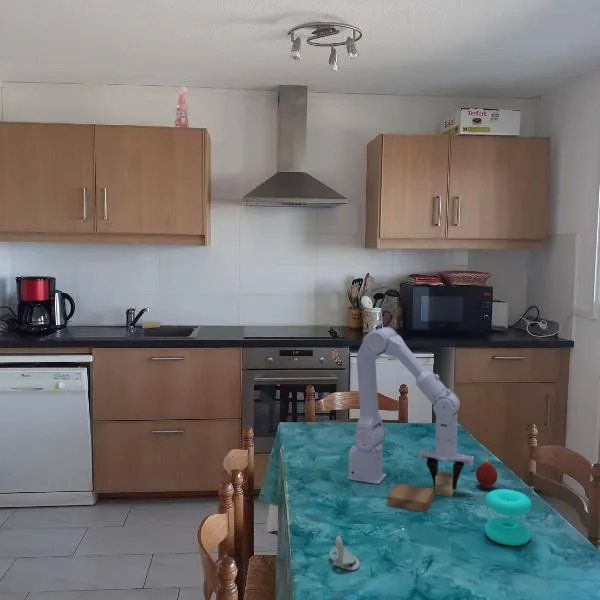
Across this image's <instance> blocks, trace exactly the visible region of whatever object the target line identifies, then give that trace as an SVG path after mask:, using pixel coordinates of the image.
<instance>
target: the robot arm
mask: <svg viewBox="0 0 600 600" xmlns="http://www.w3.org/2000/svg"><path fill="white" fill-rule="evenodd" d="M383 353H384V355H385V356H390V357H393V358H396V359H397V360H399V362H400V363H402V365H403V366H404V367H405V368H406V369H407V370H408V371H409V372H410V374H412V376H414V378H415V379H416V380H415V382H416V383H415V385H416V387H417V388H418V389H419V391H421V392H422V394H423V395H424V396H425V397H426V399H427V400H428V401H429V402H430V403H431V404H432V406H433V407H432V408H433V412H434V414H435V417H436V418H435V419H436V420H435V439H434V440H435V444H434V446H435V447H434V450H433V449H432V450H431V449H419V451H418V459H421V460H422V459H426V462H425V463H426V467H427V468H428V471H429V473H430V475H431V479H432V485H433V487H434V488H435V476H436V475H437V473H438V471H439V461H441V462H442V461H443V462H448V463H450V462H451V463H453V465H452V473H453V489H454V490H455V491H456V489H457V486H458V481H459V478H460V474H461V472H462V470H463V468H464V466H465V465H468V466H474V459H475V457H474V456H473V455H469V454H468V455H467V454H462V453H460V452H459V453H458V448H457V447H458V411H459V409H460V407H461V401H460V399H459V397H458V395H457V394H456V393H454V392H452V390H451V389H450V388H446V386H445V385H444V383H443V382H442V381H441V380H440V376H439V374H438V373H436V374H435V373H434V372H433V371H430V370H426V369H425V367H424V366H423V365H422V363H420V361H419V360H418V358H417V357H416V356H415V355H414V353H413V352H412V351H411V349H410V348H409V347H408V346H407V344H406V343H405V341H404V339H403V338H402V336H401V335H399V334H398V333H397V331H396V330H395V329H394V328H392V327H389V326H384V327H382V328H378V329H374V330H371V331H370V332H368V333H367V334H366V335H364V337H363V338H362V343H361V345H360V346H359V349H358V351H357V353H356V367H357V368H356V370H357V371H356V372H357V383H358V384H357V387H358V400H359V401H358V402H359V418H358V420H357V422H356V431H355V434H354V437H353V439H354V443H355V445H352V446H351V447H350V449H349V452H348V476H347V480H352V481H357V482H361V483H362V482H363V483H369V484H376V485H379V484H381V482H382V481H383V480H384V479H385V478H386V476H387V473H385V472H383V455H384V454H383V451H384V450H383V443H382V442H383V441H384V440H385V438H386V436H387V435H386V434H387V431H386V428H385V426H384V425H383V418H382V417H381V415H380V414H379V398H378V397H379V396H378V385H377V384H378V383H377V381H378V380H377V368H376V366H377V365H376V364H377V363H376V361H377V360H378V358H379V357H380V356H381V355H383Z"/></svg>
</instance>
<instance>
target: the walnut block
mask: <svg viewBox="0 0 600 600" xmlns="http://www.w3.org/2000/svg"><path fill="white" fill-rule="evenodd" d="M434 499H435V488H432V487H424V486H418V485H412V484H405V483H396V485H394V488H392V490H391V491H390V492H389V494H388V495H387V507H392V508H397V509H401V510H402V509H403V510H407V511H408V510H409V511H415V512H421V513H427V512H428V510H429V508H430V507H429V506H431V504H432V503H433V501H434Z"/></svg>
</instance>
